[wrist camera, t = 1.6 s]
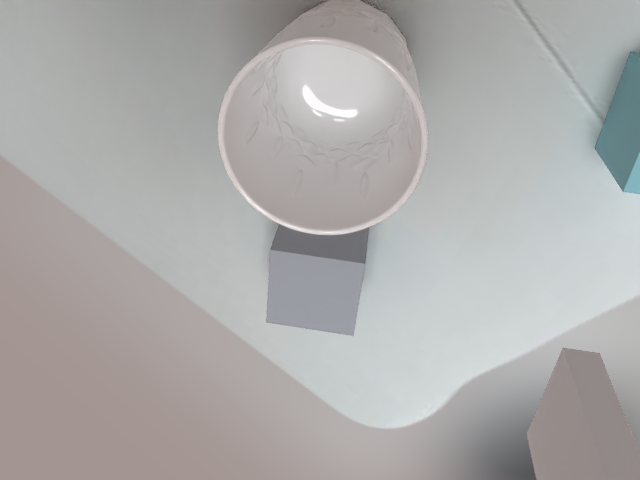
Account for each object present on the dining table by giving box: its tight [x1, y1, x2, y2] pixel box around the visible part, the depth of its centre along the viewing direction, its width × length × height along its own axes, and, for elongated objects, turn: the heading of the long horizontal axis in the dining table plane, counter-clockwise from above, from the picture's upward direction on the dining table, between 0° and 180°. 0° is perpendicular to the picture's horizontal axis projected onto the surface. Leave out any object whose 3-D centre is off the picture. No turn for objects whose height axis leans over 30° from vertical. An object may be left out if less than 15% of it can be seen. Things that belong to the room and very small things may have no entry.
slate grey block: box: [266, 224, 369, 336], centre depth 35 cm, size 5×5×5 cm
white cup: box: [218, 0, 428, 235], centre depth 26 cm, size 8×8×10 cm
